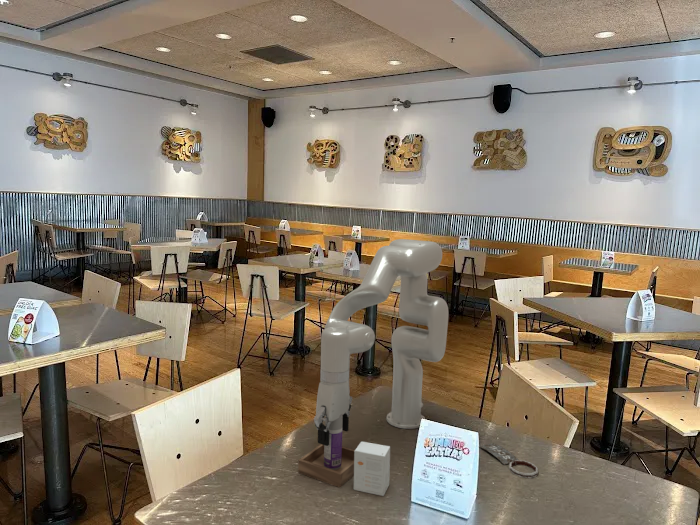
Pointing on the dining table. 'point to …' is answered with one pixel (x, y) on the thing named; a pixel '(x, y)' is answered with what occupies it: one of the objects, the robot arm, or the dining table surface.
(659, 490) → the dining table surface
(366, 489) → the small box
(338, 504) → the dining table surface
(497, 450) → the keychain
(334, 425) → the container
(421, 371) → the robot arm
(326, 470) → the tray
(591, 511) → the dining table surface
